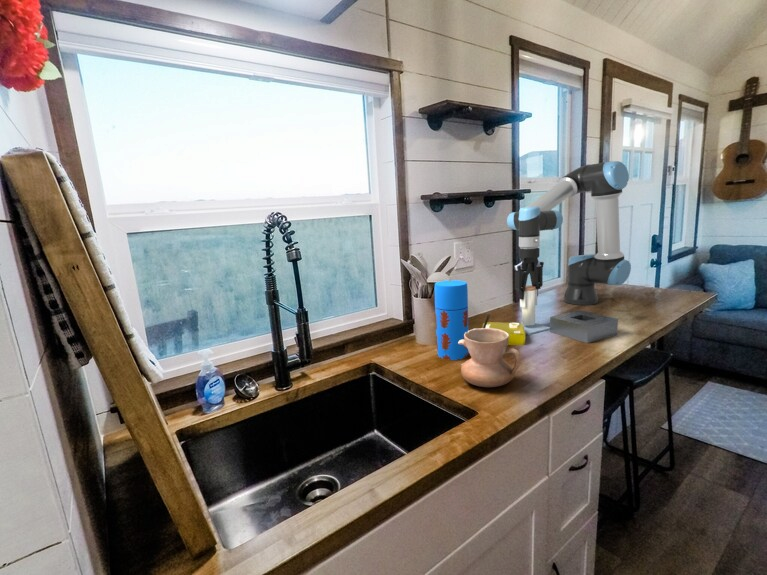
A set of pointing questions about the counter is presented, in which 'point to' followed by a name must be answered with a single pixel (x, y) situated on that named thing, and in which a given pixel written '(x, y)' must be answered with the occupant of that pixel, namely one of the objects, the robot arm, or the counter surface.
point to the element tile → (510, 331)
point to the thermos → (451, 318)
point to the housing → (583, 326)
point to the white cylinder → (529, 307)
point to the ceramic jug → (488, 358)
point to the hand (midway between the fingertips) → (528, 305)
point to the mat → (534, 328)
